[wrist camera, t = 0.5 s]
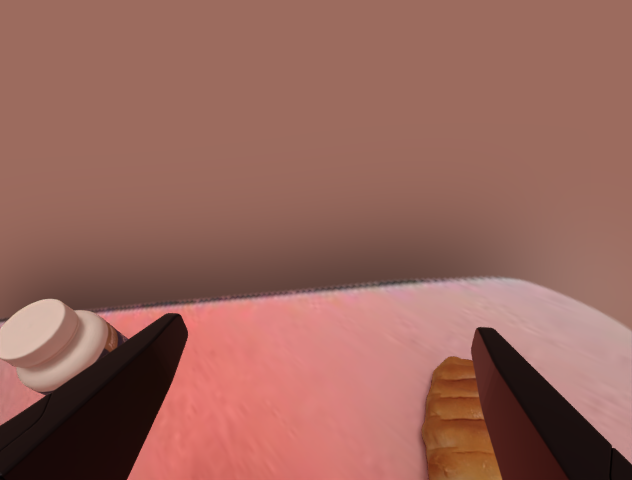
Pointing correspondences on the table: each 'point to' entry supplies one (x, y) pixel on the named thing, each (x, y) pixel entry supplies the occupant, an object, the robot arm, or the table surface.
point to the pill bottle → (54, 343)
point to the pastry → (457, 426)
